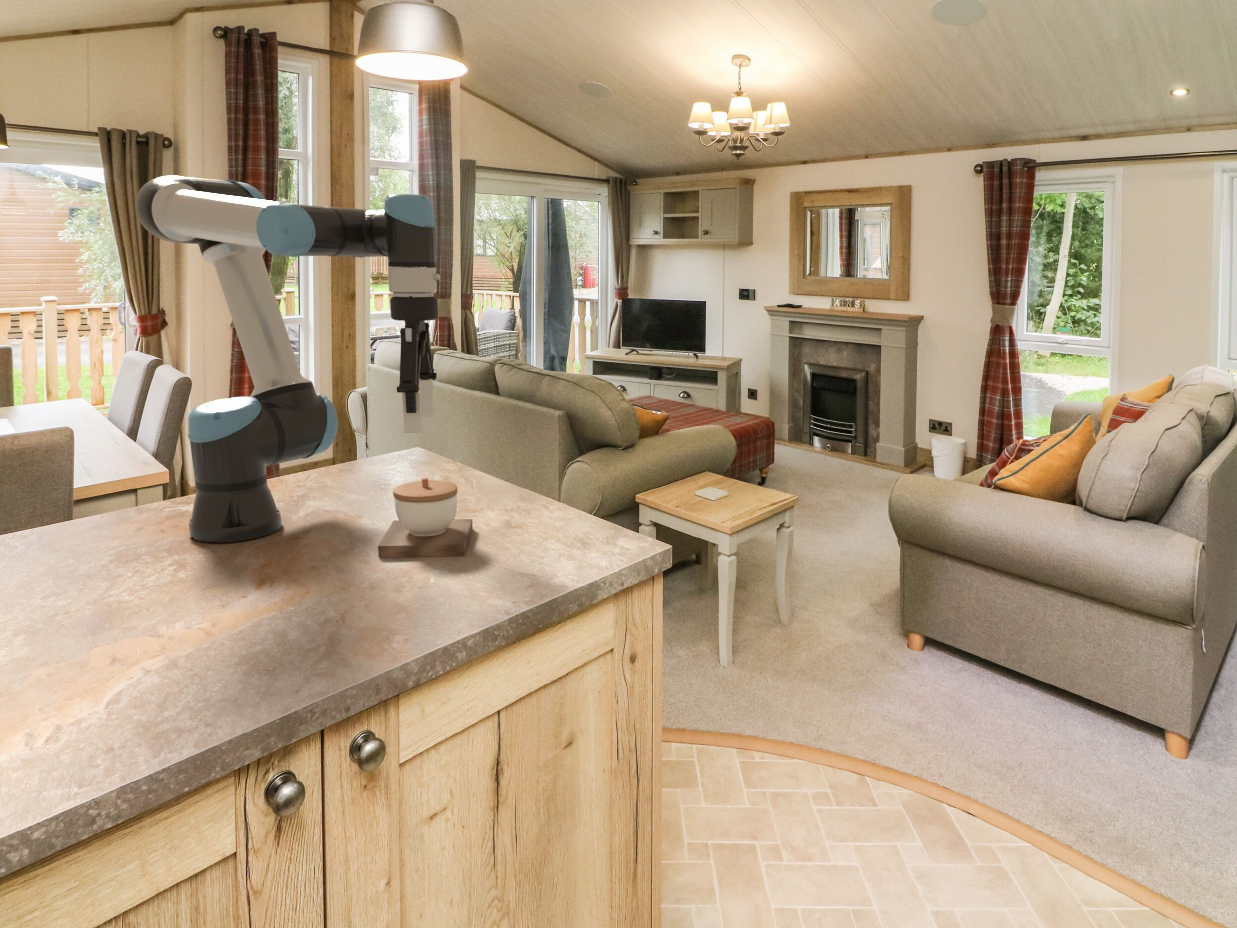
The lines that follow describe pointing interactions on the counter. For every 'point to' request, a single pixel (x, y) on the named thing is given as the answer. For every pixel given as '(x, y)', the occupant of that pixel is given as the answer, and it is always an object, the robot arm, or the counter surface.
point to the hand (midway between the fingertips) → (419, 424)
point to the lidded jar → (426, 506)
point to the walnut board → (426, 541)
